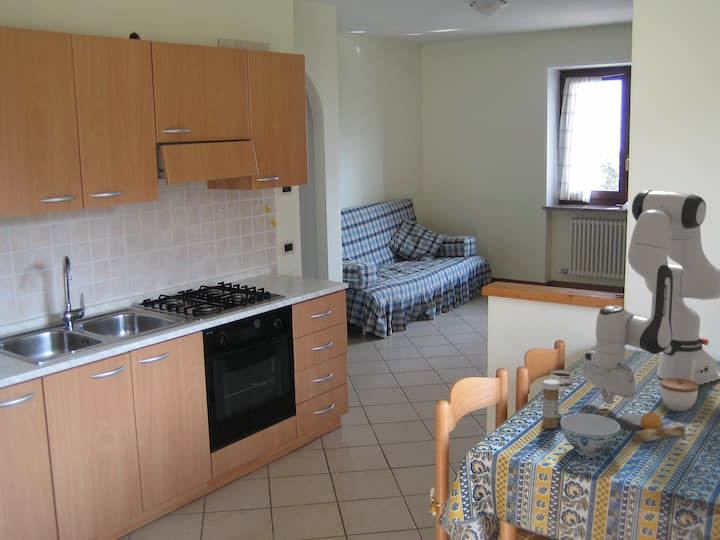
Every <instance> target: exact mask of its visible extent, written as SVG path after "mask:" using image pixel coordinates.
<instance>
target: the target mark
mask: <svg viewBox="0 0 720 540" xmlns="http://www.w3.org/2000/svg"><path fill="white" fill-rule="evenodd" d="M642 416H643V415H641V414H623V415H620V416H617V417H616V418H615V419H614V421H616V422H617V423H618V424H619V425H620V428H623V429H626V430H630V431H634V432H635V431H640V430H645V429H644V428H643V427H642V425H641V418H642ZM663 426H664V424H663V423H662V424H661V427H663Z"/></svg>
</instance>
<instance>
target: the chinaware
mask: <svg viewBox="0 0 720 540" xmlns="http://www.w3.org/2000/svg"><path fill="white" fill-rule="evenodd" d="M560 428H561V432H562V434H563V437H564V438H565V439H566V441H567V443H568V444H569V445H570V446H572V447H573V448H574V449H575V452H576V451H577V452H578V453H577V452H576V453H577V454H579V453H580V454H579V455H581V454H583V455H582V456H584V455H587V456H586V457H591V456H593V457H599V456H601V455H602V454H603V452H604V451H606V450H608V449H609V448H610V447H611V446H613V444H614V443H615V441H616V440H617V438H618V436H619V433H620V431H621V426H620V425H619V424H618V423H617V422H616V421H615V419H612V418H609V417H607V416H603V415H599V414H594V413H593V414H592V413H573V414H568V415H566V416H564V417H562V418H561V420H560ZM598 455H599V456H598Z"/></svg>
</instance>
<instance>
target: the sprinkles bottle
mask: <svg viewBox="0 0 720 540" xmlns="http://www.w3.org/2000/svg"><path fill="white" fill-rule="evenodd" d="M559 385H560V384H559V381H557V380H551V379H550V378H549V379H545V380H543V381H542V388H543V394H542V423H541V426H543V427H544V428H546V429H556V428H558V427H559V424H558V421H559V420H558V419H559V414H558V408H560V391H559Z"/></svg>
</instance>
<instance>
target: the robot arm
mask: <svg viewBox="0 0 720 540" xmlns="http://www.w3.org/2000/svg"><path fill="white" fill-rule="evenodd" d="M631 214H632V217H633V219H634V220H635V221H636V223H635V225H634V228H633V231H632V235H631V239H630V243H629V246H628V247H629V248H628V252H627V253H628V254H627V259H628V263H629V265H630V267H631V268H632V270H633V271H634V272H635V273H636V274H637V275H639V276H640V277H642V278H643V279H644V283H645V286H646V288H647V290H648V291H649V292H650V293H651V294H652V295H651V311H650V312H651V313H650V317H647V316H641V315H639V314H635V313H633V312H630V311H628V310H627V309H625V307H624V306H622V305H618V304H617V305H616V304H612V305H605V306H603V307H601V308H600V309H599V310H598V312H597V313H598V314H597V317H596V323H595V339H596V342H595V345H594V350H591V351H584V353H583V359H584V361H583V365H582V366H583V367H582V376H583V380H584V381H587V382H589V383H590V384H592V385H595V386H597V387H599V391H600V392H599V393H600V394H601V397H602V398H601V401H602V402H603V403H605V404H608V405H612V404H613V403H614V398H615V397H616V395H617V396H619V397H622V398H624V399H628V398H633V397H634V396H635V394H636V379H635V375H634V371H633V369H632V368H631V367H630V366H629V365H628V366H627V365H626V346H627V345H628V346H631V347H633V348H636V349H640V350H642V351H645V352H646V353H650V354H651V355H658V354H660V353H661V355H660V359H659V365H658V367H657V372H656V376H657V377H658V378H660V379H661V380H663V379H667V378H682V379H687V380H691V381H693V382H696V383H697V384H698V386H701V385H704V383H705V384H707V383H712V382H715V381H718V379H719V380H720V371H719V370H718V363H717V360H716V358H715V357H713V356H712V355H711V354H710V353H708V352H707V350H705V349H704V348H703V345H705V346H708V345H709V339H707V338H705V337H703V338H700V328H701V317H700V315H699V313H698V312H697V311H696V310H694V309H693V308H691V307H690V306H688V305H687V304H686V302H685V301H684V300H685V299H691V300H692V299H693V300H702V301H707V300H718V299H719V298H720V269H719V268H717V267H716V266H714V265H713V264H712V263H711V261H710V260H709V259H708V257H707V256H706V254H705V253H704V250H703V244H702V236H701V235H702V234H701V225H702V224H703V223H704V222H705V218H706V215H707V203H706V201H705V200H704V199H703V197H701V196H699V195H696V194H693V193H690V194H688V193H683V192H678V191H666V190H664V191H662V190H657V191H656V190H649V189H648V190H642V191H639V192H638V193H637V194H636V195H635V196H634V198H633V201H632V205H631ZM668 258H669V259H670V260H672V261H673V262H675V264H674V263H669V262H668ZM684 298H685V299H684ZM711 381H712V382H711Z"/></svg>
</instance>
